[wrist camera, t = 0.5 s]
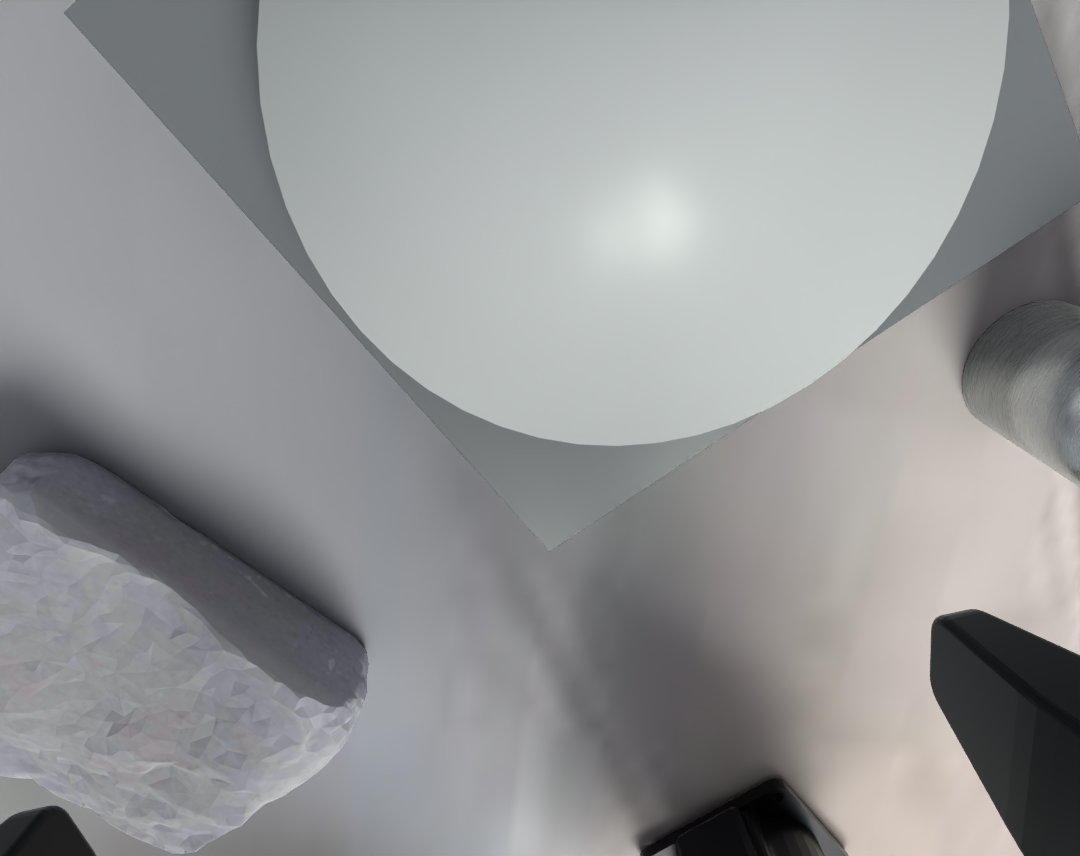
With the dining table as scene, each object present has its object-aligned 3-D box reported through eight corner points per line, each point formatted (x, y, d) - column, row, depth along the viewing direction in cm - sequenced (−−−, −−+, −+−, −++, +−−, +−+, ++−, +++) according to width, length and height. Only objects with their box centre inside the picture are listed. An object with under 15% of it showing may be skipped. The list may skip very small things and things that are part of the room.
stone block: (236, 758, 28) (404, 640, 24) (172, 893, 24) (361, 778, 20) (-67, 578, 24) (71, 399, 20) (-206, 702, 20) (-70, 508, 16)
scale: (1059, 165, 19) (1157, 179, 16) (542, 513, 22) (552, 573, 19) (771, -612, 13) (852, -798, 10) (109, 20, 16) (36, 8, 13)
